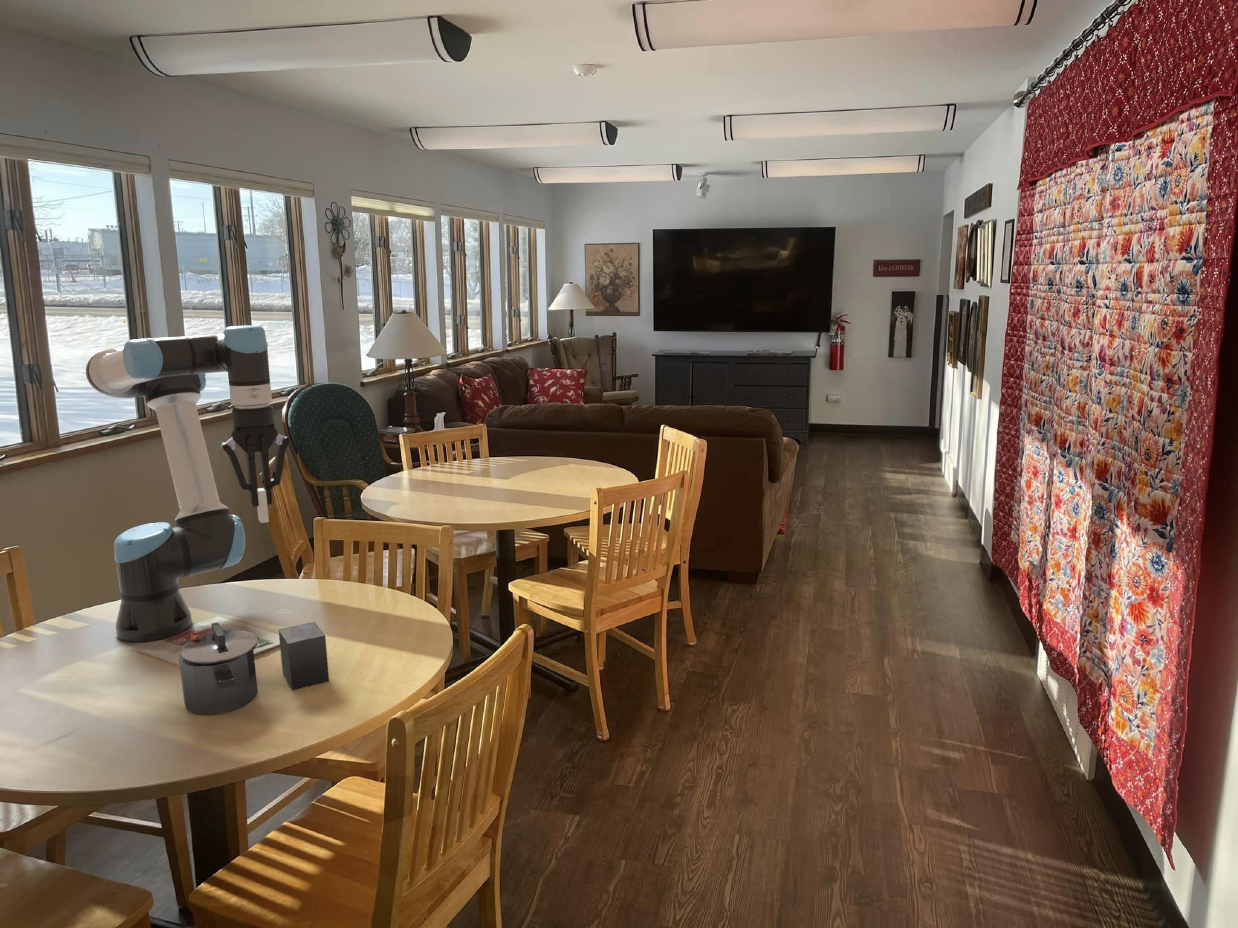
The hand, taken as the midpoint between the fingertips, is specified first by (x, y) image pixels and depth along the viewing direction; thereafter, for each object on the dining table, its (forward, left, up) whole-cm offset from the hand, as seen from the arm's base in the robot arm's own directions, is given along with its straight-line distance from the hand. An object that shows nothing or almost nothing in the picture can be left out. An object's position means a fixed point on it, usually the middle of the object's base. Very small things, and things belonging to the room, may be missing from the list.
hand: (263, 520), depth 180 cm
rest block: (+14, +2, -29) cm, 33 cm away
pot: (+14, -13, -29) cm, 35 cm away
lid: (+14, -12, -19) cm, 27 cm away
